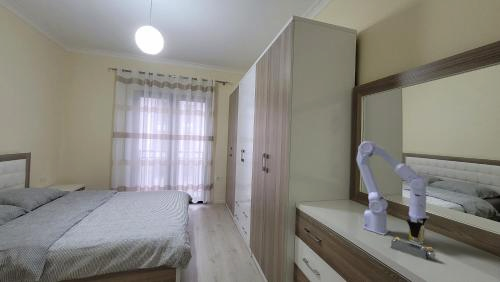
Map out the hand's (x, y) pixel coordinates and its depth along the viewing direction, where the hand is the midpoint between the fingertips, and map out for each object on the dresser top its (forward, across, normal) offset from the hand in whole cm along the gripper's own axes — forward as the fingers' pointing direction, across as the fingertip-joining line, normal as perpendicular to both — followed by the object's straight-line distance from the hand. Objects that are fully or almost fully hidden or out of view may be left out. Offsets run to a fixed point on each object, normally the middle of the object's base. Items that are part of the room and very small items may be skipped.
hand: (416, 234), depth 94 cm
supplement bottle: (+3, 0, 0) cm, 3 cm away
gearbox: (+3, -15, -1) cm, 15 cm away
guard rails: (+3, -9, 0) cm, 10 cm away
